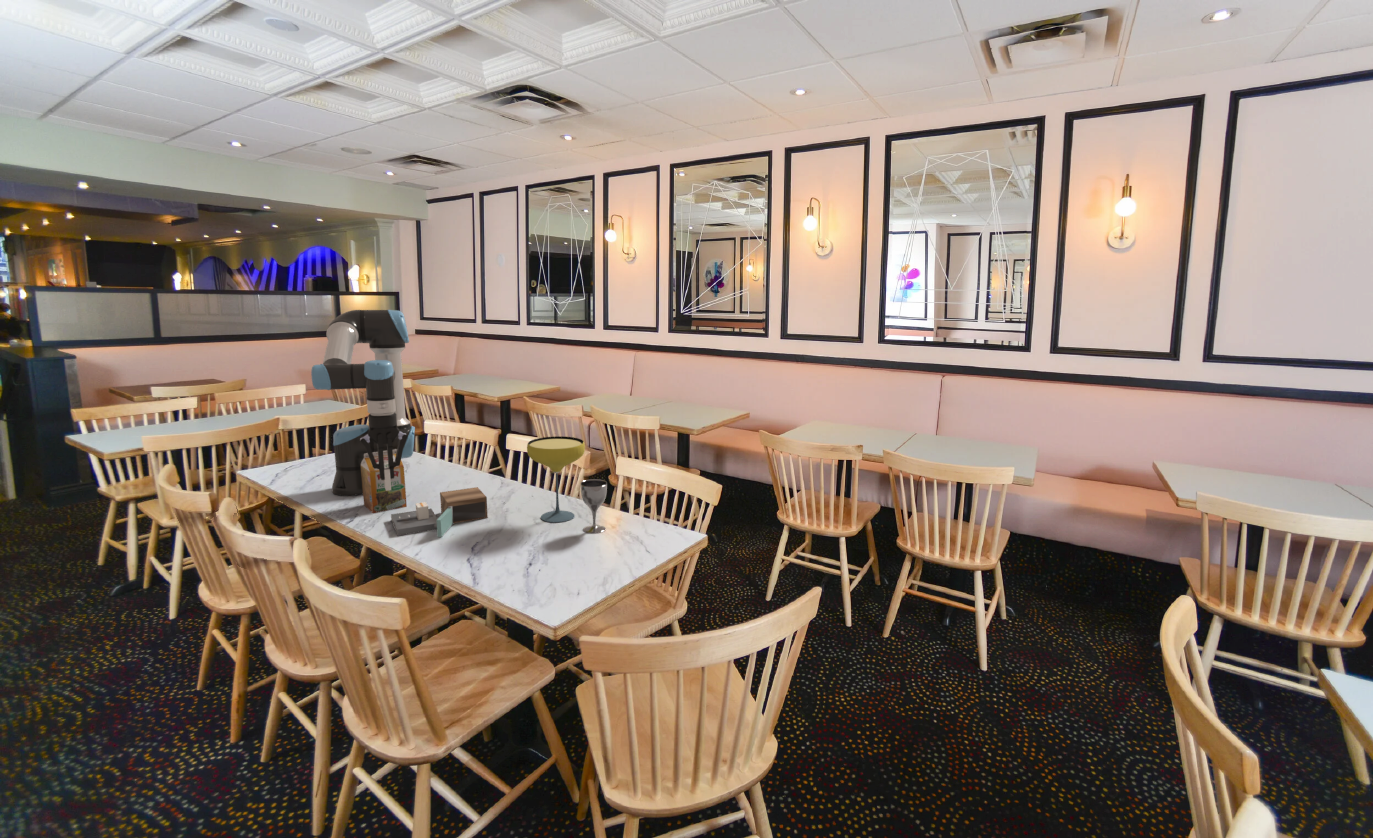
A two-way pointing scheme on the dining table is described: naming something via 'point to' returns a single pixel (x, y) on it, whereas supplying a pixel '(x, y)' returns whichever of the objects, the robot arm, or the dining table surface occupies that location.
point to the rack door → (444, 521)
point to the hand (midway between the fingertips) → (388, 489)
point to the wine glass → (593, 500)
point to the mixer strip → (413, 522)
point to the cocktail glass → (556, 464)
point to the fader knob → (422, 511)
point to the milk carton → (382, 485)
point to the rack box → (465, 504)
